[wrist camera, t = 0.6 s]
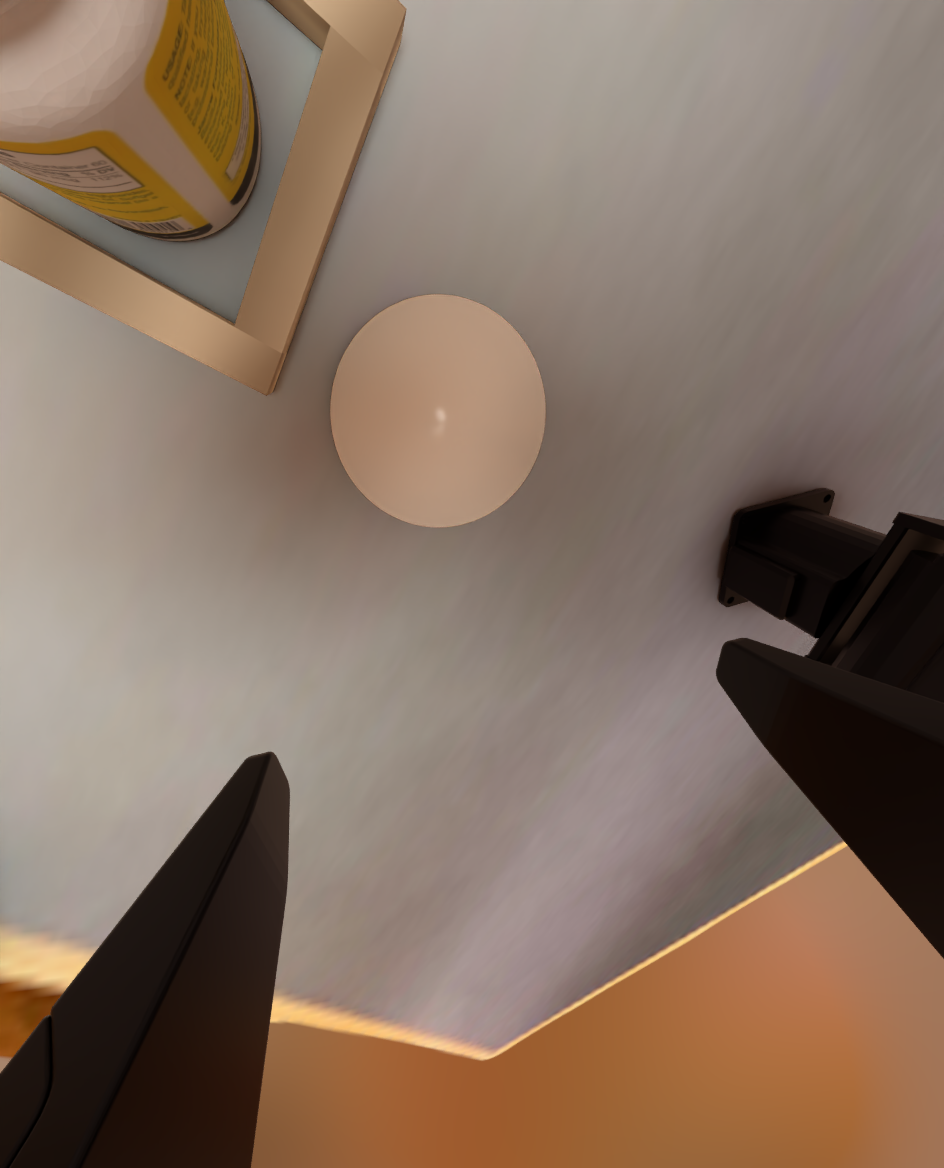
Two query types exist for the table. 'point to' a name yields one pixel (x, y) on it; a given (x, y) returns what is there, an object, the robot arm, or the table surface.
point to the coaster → (438, 410)
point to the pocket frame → (294, 229)
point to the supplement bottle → (131, 110)
